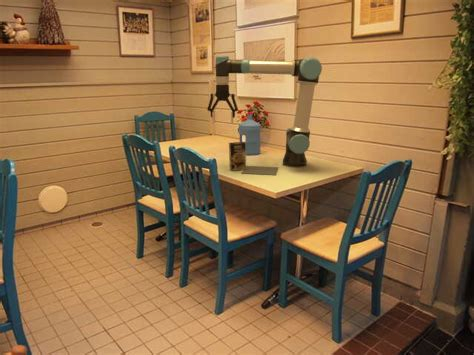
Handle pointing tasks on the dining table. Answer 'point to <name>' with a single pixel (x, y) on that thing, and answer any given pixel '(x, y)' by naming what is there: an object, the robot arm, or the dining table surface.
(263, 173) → the mat
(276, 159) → the dining table surface
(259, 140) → the water jug
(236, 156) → the coffee box
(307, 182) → the dining table surface
